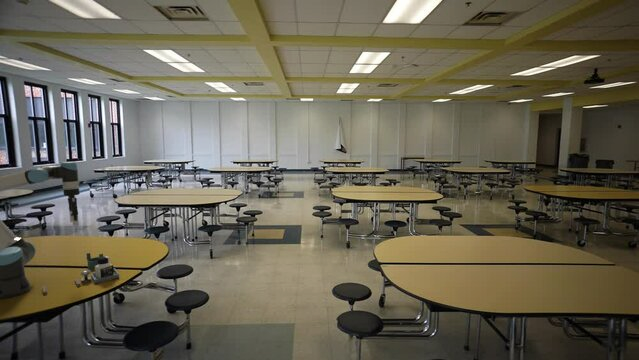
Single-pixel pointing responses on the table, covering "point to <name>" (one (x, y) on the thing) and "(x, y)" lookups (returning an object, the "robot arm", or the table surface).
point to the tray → (99, 280)
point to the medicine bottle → (103, 267)
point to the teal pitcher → (92, 261)
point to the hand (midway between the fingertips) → (74, 223)
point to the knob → (85, 276)
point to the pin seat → (75, 281)
